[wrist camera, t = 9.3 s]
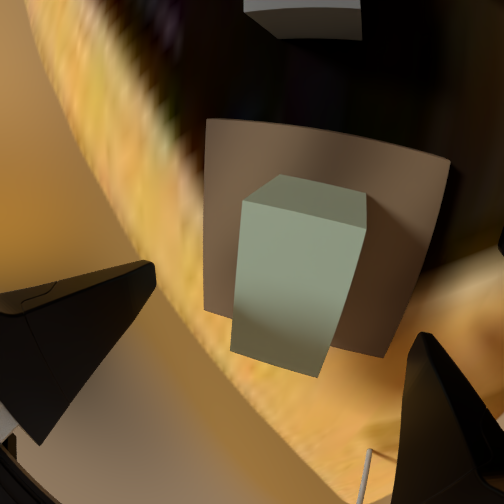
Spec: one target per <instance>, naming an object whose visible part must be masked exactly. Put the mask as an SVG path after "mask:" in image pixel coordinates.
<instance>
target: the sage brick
mask: <svg viewBox="0 0 504 504" xmlns="http://www.w3.org/2000/svg"><path fill="white" fill-rule="evenodd" d="M366 229H367V211H366V193H363V192H359V191H355V190H351V189H347V188H342V187H338V186H334V185H329V184H325V183H320V182H316V181H311V180H306V179H301V178H297V177H292V176H286V175H281V174H279V175H278V176H277V177H275V178H274V179H272V180H271V181H269V182H268V183H266V184H265V185H264V186H262V187H261V188H259V189H258V190H256V191H255V192H254V193H252V194H251V195H249V196H248V197H246V198H245V199H244V200H242V211H241V222H240V234H239V245H238V257H237V269H236V281H235V294H234V306H233V319H232V332H231V346H230V351H232V352H235V353H238V354H241V355H244V356H247V357H250V358H253V359H256V360H259V361H262V362H265V363H268V364H271V365H274V366H278V367H281V368H284V369H288V370H291V371H294V372H298V373H301V374H305V375H308V376H312V377H316V378H318V375H319V373H320V370H321V368H322V365H323V363H324V360H325V357H326V355H327V352H328V350H329V347H330V344H331V341H332V339H333V336H334V333H335V330H336V328H337V325H338V322H339V319H340V316H341V313H342V310H343V307H344V304H345V301H346V298H347V295H348V292H349V289H350V285H351V282H352V279H353V276H354V272H355V269H356V266H357V262H358V259H359V255H360V252H361V248H362V244H363V241H364V237H365V233H366Z"/></svg>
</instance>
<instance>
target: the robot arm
mask: <svg viewBox="0 0 504 504" xmlns="http://www.w3.org/2000/svg"><path fill="white" fill-rule="evenodd" d="M498 249H499V251H500V252H501V254H502V255H503V256H504V227H503V230H502V233H501V236H500V239H499V243H498ZM155 287H156V273H155V265H154V263H152V262H150V261H146V260H140V261H136V262H132V263H128V264H124V265H120V266H115V267H111V268H107V269H103V270H99V271H95V272H91V273H87V274H83V275H80V276H75V277H71V278H67V279H63V280H59V281H58V282H57V281H55V282H51V283H48V284H43V285H39V286H35V287H31V288H25V289H20V290H15V291H10V292H5V293H0V504H61V503H60V502H59V501H58V500H57V499H55V498H54V497H53V496H52V495H51V494H50V493H49V492H48V491H46V490H45V489H44V488H43V487H42V486H41V485H40V484H39V483H38V482H37V481H36V480H35V479H34V478H33V477H32V476H31V475H30V474H29V473H28V472H27V471H26V470H25V469H24V468H23V467H22V466H21V465H20V464H19V463H18V462H17V456H16V455H17V452H16V436H15V435H14V434H13V431H14V430H15V429H16V428H17V427H18V426H20V427H21V429H22V430H23V431H24V432H25V433H26V434H27V435H28V436H29V437H30V438H31V439H32V440H33V441H34V442H35V443H36V444H38V445H39V446H40V445H41V444H42V443H43V442H44V440H45V439H46V437H47V436H48V434H49V433H50V432H51V430H52V429H53V427H54V426H55V425H56V423H57V422H58V420H59V419H60V417H61V416H62V415H63V413H64V412H65V411H66V409H67V408H68V406H69V405H70V403H71V402H72V401H73V399H74V398H75V396H76V395H77V394H78V392H79V391H80V390H81V388H82V387H83V386H84V384H85V383H86V382H87V380H88V379H89V378H90V376H91V375H92V374H93V372H94V371H95V370H96V368H97V367H98V366H99V365H100V363H101V362H102V361H103V359H104V358H105V357H106V355H107V354H108V353H109V352H110V350H111V349H112V348H113V347H114V345H115V344H116V342H117V341H118V340H119V339H120V338H121V336H122V335H123V334H124V333H125V331H126V330H127V329H128V328H129V326H130V325H131V324H132V322H133V321H134V320H135V318H136V317H137V315H138V314H139V312H140V311H141V309H142V308H143V306H144V305H145V303H146V302H147V300H148V299H149V297H150V296H151V294H152V292H153V291H154V289H155ZM391 504H504V431H503V430H502V429H501V427H500V426H499V424H498V423H497V421H496V420H495V418H494V417H493V416H492V414H491V413H490V411H489V410H488V408H486V405H485V404H484V402H483V401H482V399H481V398H480V397H479V395H478V394H477V392H476V391H475V390H474V388H473V387H472V385H471V384H470V383H469V381H468V380H467V378H466V377H465V376H464V374H463V373H462V372H461V370H460V369H459V368H458V366H457V365H456V364H455V362H454V361H453V360H452V358H451V357H450V356H449V355H448V353H447V352H446V351H445V349H444V348H443V347H442V346H441V344H440V343H439V342H438V341H437V339H436V338H435V337H434V336H433V334H431V333H426V332H420V333H419V334H418V335H417V337H416V339H415V341H414V343H413V345H412V347H411V349H410V351H409V354H408V358H407V367H406V375H405V383H404V390H403V397H402V412H401V428H400V440H399V450H398V459H397V467H396V474H395V481H394V488H393V493H392V499H391Z"/></svg>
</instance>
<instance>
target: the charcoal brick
mask: <svg viewBox="0 0 504 504" xmlns="http://www.w3.org/2000/svg"><path fill="white" fill-rule="evenodd" d="M244 13H246V14H247V15H248V16H250V17H251V18H252V19H254V20H255V21H256V22H258V23H259V24H260V25H261V26H263V27H264V28H265V29H267V30H268V31H269V32H270V33H271V34H273V35H274V36H275V37H276V38H278V39H293V38H326V39H349V40H362V23H361V7H360V0H244Z"/></svg>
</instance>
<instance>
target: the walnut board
mask: <svg viewBox="0 0 504 504" xmlns="http://www.w3.org/2000/svg"><path fill="white" fill-rule="evenodd" d="M450 162H451V161H450V160H448V159H446V158H444V157H440V156H437V155H434V154H430V153H427V152H423V151H420V150H416V149H412V148H408V147H405V146H401V145H397V144H393V143H388V142H384V141H380V140H375V139H371V138H366V137H361V136H356V135H351V134H346V133H340V132H335V131H329V130H323V129H317V128H310V127H303V126H296V125H288V124H280V123H271V122H261V121H250V120H238V119H223V118H212V119H207V121H206V142H205V169H204V212H203V287H204V310H205V311H208V312H212V313H215V314H218V315H221V316H224V317H227V318H231V319H233V306H234V294H235V281H236V269H237V257H238V245H239V234H240V222H241V211H242V200H244V199H245V198H246V197H248V196H249V195H251V194H252V193H254V192H255V191H256V190H258V189H259V188H261V187H262V186H264V185H265V184H266V183H268V182H269V181H271V180H272V179H274V178H275V177H277V176H278V175H279V174H281V175H286V176H292V177H297V178H301V179H306V180H311V181H316V182H320V183H325V184H329V185H334V186H338V187H342V188H347V189H351V190H355V191H359V192H363V193H366V211H367V229H366V233H365V237H364V241H363V244H362V248H361V252H360V255H359V259H358V262H357V266H356V269H355V272H354V276H353V279H352V282H351V285H350V289H349V292H348V295H347V298H346V301H345V304H344V307H343V310H342V313H341V316H340V319H339V322H338V325H337V328H336V330H335V333H334V336H333V339H332V341H331V344H330V346H332V347H336V348H340V349H344V350H348V351H353V352H357V353H361V354H366V355H370V356H375V357H380V358H384V356H385V354H386V352H387V350H388V347H389V345H390V343H391V341H392V339H393V337H394V335H395V332H396V330H397V328H398V326H399V324H400V321H401V319H402V317H403V314H404V312H405V310H406V307H407V305H408V302H409V300H410V297H411V295H412V292H413V290H414V287H415V284H416V282H417V279H418V276H419V274H420V271H421V268H422V265H423V262H424V259H425V256H426V253H427V250H428V247H429V244H430V241H431V238H432V234H433V231H434V228H435V224H436V221H437V217H438V213H439V210H440V206H441V202H442V198H443V194H444V190H445V186H446V181H447V177H448V172H449V167H450Z"/></svg>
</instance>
